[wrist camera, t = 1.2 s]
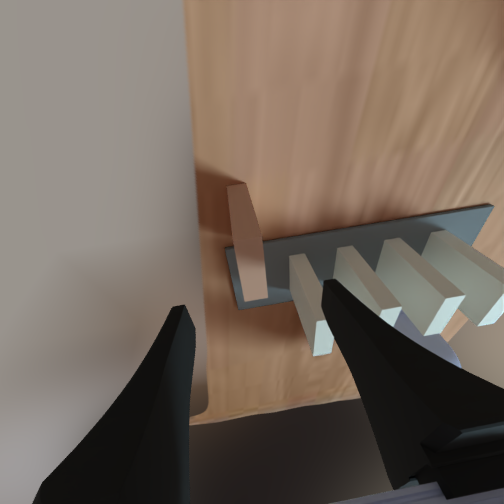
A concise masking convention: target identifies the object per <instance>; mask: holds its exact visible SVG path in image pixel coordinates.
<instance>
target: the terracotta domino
mask: <svg viewBox="0 0 504 504" xmlns="http://www.w3.org/2000/svg"><path fill="white" fill-rule="evenodd" d="M227 194H228V203H229V212H230V220H231V229H232V238H233V244H234V249H235V254H236V260H237V265H238V270H239V275H240V280H241V286H242V291H243V296H244V301H245V302H247V301H252V300H258V299H264V298H268V291H267V281H266V271H265V261H264V250H263V240H262V234H261V231H260V228H259V224H258V221H257V218H256V214H255V211H254V208H253V205H252V201H251V198H250V195H249V191H248V188H247V185H246V183H243V184H236V185H230V186H227Z"/></svg>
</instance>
